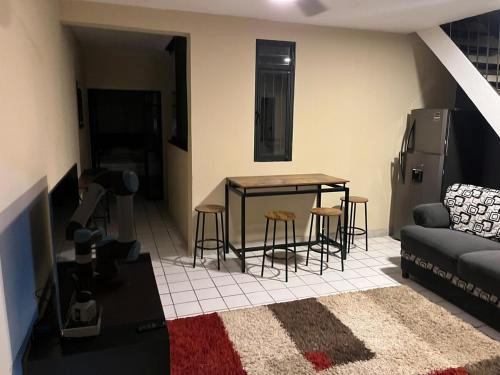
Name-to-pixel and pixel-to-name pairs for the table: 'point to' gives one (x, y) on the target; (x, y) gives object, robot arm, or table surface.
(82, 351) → the table surface
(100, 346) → the table surface
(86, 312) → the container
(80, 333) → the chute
